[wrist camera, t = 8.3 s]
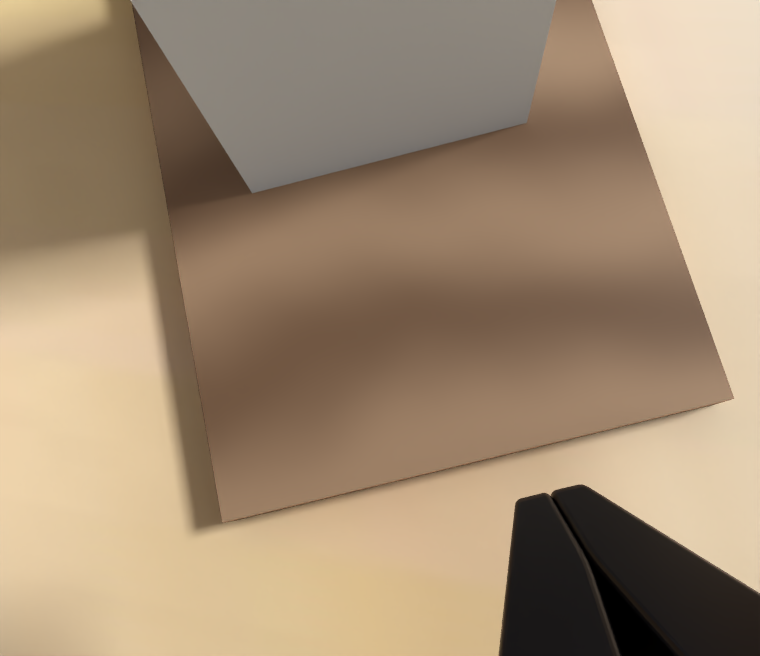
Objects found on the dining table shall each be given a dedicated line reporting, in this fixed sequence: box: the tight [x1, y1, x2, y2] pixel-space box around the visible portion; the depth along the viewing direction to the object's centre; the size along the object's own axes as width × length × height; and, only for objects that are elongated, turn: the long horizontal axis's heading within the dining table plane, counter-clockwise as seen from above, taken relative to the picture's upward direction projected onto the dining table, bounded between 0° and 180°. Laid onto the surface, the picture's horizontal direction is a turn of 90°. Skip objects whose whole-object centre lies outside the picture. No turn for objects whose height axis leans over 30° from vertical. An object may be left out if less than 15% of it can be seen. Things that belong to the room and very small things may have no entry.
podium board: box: [132, 0, 734, 523], centre depth 23 cm, size 20×15×1 cm
